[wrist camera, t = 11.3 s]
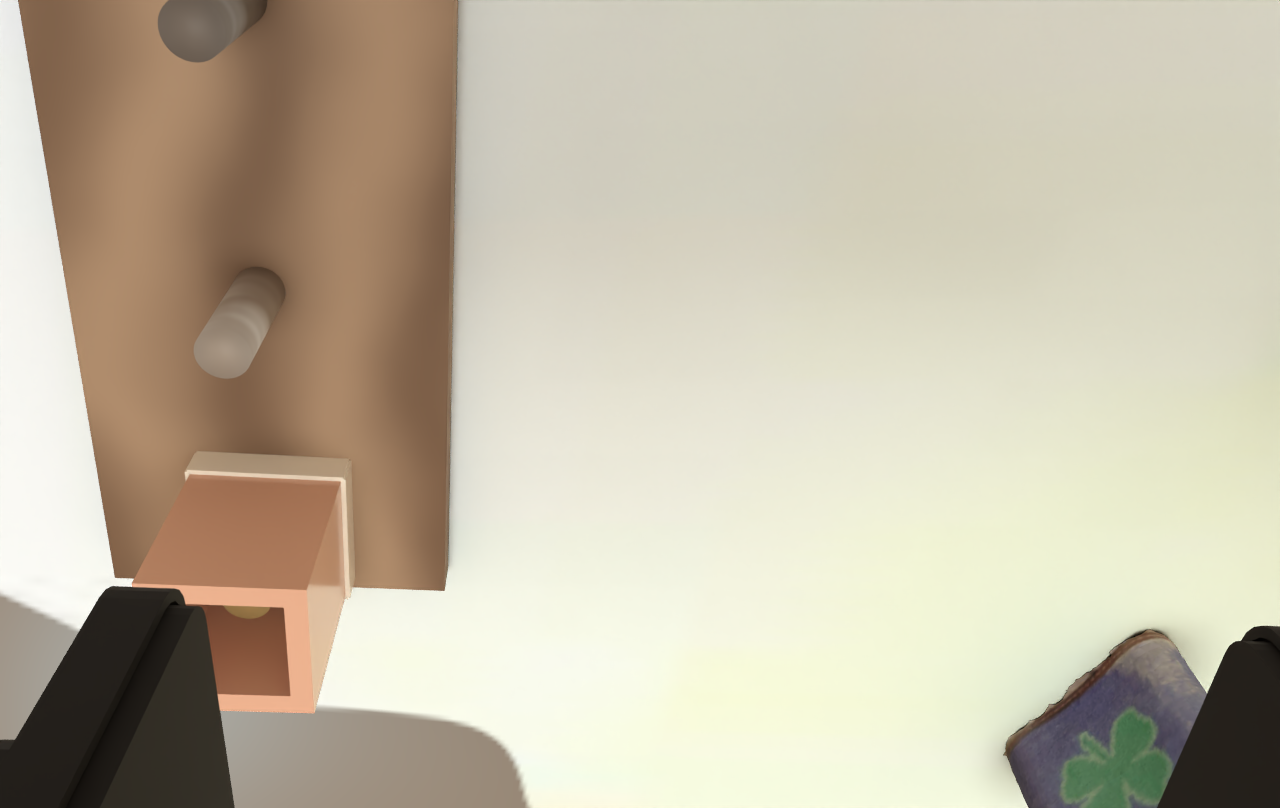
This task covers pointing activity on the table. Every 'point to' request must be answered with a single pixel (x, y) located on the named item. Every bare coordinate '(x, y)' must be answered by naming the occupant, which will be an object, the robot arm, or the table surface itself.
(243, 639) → the sleeve
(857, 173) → the table surface
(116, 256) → the pin board
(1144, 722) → the flask
